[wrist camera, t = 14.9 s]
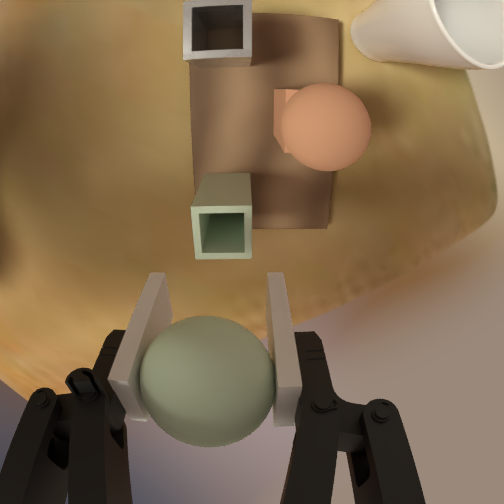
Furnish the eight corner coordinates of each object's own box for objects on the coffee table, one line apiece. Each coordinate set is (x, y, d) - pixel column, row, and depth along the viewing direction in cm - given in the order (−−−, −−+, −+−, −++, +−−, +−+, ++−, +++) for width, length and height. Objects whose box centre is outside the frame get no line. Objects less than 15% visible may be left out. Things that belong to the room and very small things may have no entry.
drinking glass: (339, 62, 23) (428, 47, 10) (341, -3, 20) (422, -61, 7) (405, 76, 23) (517, 87, 10) (406, 14, 20) (513, -11, 7)
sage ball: (166, 369, 14) (148, 460, 10) (143, 287, 12) (103, 392, 7) (269, 371, 14) (276, 465, 10) (273, 287, 12) (288, 401, 7)
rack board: (199, 224, 31) (197, 229, 30) (191, 18, 21) (189, 16, 20) (324, 223, 31) (327, 228, 30) (334, 22, 21) (338, 19, 20)
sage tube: (207, 214, 29) (195, 259, 22) (204, 173, 27) (190, 206, 20) (250, 214, 29) (252, 258, 22) (250, 172, 27) (251, 205, 20)
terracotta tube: (273, 134, 25) (284, 152, 18) (273, 89, 23) (285, 89, 16) (319, 135, 25) (346, 155, 19) (320, 91, 23) (350, 94, 17)
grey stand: (201, 68, 22) (183, 60, 15) (201, 25, 20) (183, 1, 13) (249, 66, 22) (251, 56, 15) (249, 23, 20) (251, -3, 13)
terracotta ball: (274, 159, 19) (285, 181, 15) (276, 81, 17) (288, 77, 12) (350, 162, 19) (380, 184, 15) (355, 87, 17) (389, 89, 12)
